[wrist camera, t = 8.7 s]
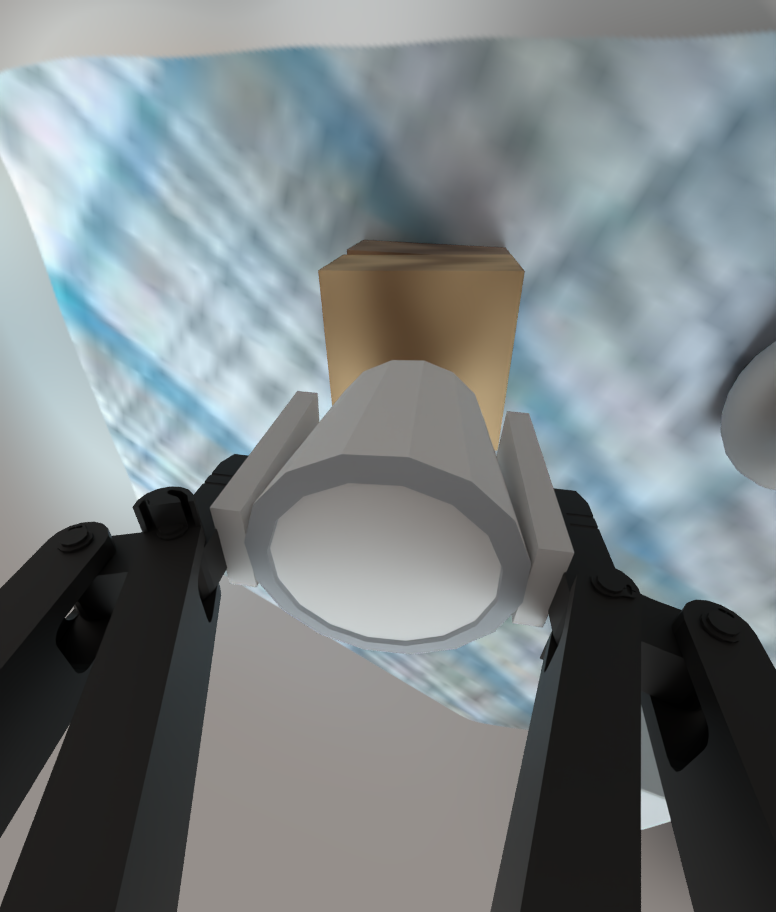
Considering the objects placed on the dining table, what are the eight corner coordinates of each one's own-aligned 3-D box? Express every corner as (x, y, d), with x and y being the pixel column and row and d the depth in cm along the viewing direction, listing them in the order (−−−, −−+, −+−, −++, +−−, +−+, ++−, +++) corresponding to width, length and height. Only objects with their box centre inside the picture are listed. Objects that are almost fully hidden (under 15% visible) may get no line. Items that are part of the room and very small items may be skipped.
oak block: (511, 254, 21) (524, 271, 17) (490, 408, 26) (497, 450, 22) (343, 254, 23) (318, 270, 18) (353, 402, 28) (335, 441, 23)
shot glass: (529, 363, 14) (586, 498, 8) (473, 515, 17) (482, 680, 12) (326, 322, 14) (234, 423, 8) (315, 481, 18) (247, 628, 12)
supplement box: (553, 679, 50) (579, 809, 40) (596, 651, 46) (637, 788, 36) (603, 700, 51) (640, 832, 41) (649, 675, 47) (704, 814, 37)
